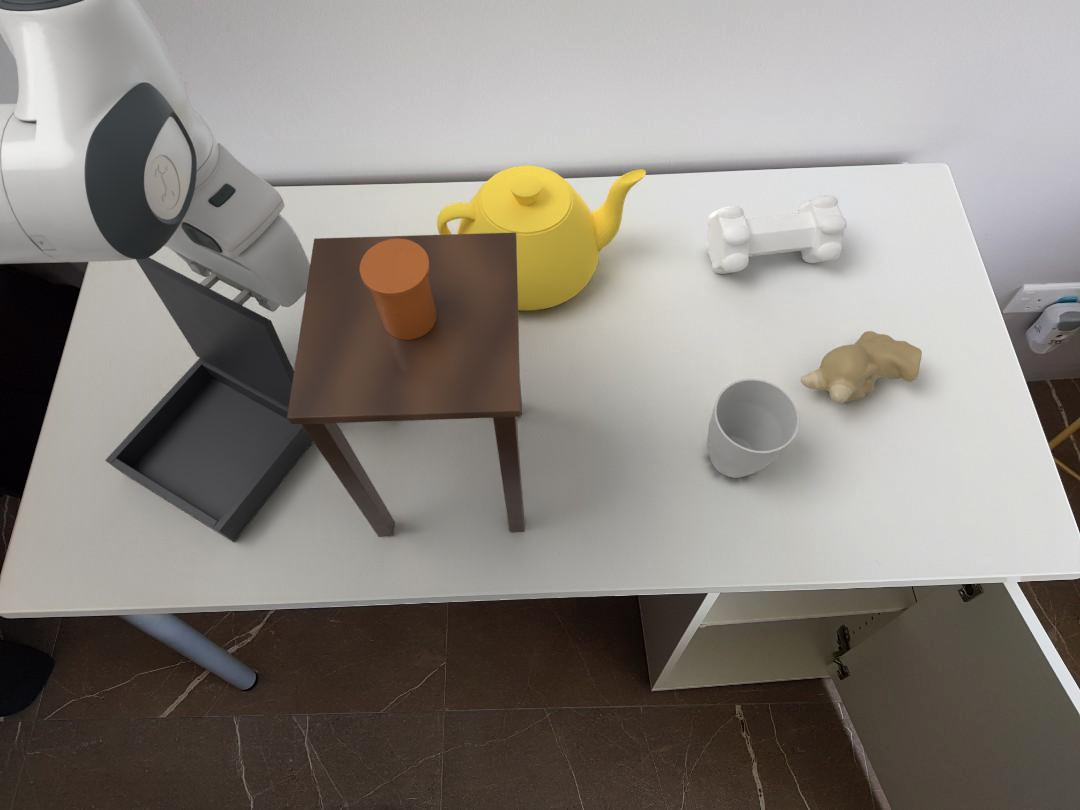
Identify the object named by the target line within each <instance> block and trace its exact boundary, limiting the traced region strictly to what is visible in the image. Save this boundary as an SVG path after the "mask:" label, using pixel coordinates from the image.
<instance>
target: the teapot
mask: <svg viewBox="0 0 1080 810" xmlns="http://www.w3.org/2000/svg"><path fill="white" fill-rule="evenodd" d="M646 175H647V171H646V170H645V169H641V168H640V169H634V170H630V171H629V172H626V173H624V174H623V175H621V176H619V177H618V178H617V179H616V180H615V181H614V182H613V183H612V185H611V187H610V188H609V190H608V192H607V195H606V198H605V201H604V202H603V204H602V205H601V206H600V207H598V208H596V209H595V210H593V211H591V210H590V208H589V206H588V205H587V203H586V201H585V200H584V199H583V197H582V196H581V195H580V193H578V191H577V190H576V189H575V188H574V187H573V186H572V185H571V184H570V182H568V181H567V180H566V179H564V177H562V176H561V175H559V173H557V172H555V171H553V170H551V169H549V168H545V167H542V166H535V165H518V166H512V167H508V168H505V169H503V170H501V171H499V172H497V173H495V174H494V175H493V176H492V177H490V178H489V179H487V180H486V181H485V182H484V183H483V184H482V186H481V187H479V189H478V190H477V191H476V192H475V194H474V195H473V197H472V198H471V199H470V200H469V202H464V201H463V202H462V201H461V202H454V203H450V204H448V205H446V206H444V207H443V208H442V209H441V210H440V211H439V213H438V214H437V219H436V226H437V227H436V228H437V232H438V235H446V234H452V231H451V230H450V228H449V226H448V224H447V223H449V222H451V221H454V220H458V219H459V220H460V221H459V225H458V229H457V234H479V233H512V232H515V233H516V238H517V278H518V311H538V310H544V309H549V308H552V307H556V306H558V305H561V304H564V303H565V302H568V301H569V300H571V299H572V298H574V297H575V296H577V295H578V294H579V293H581V292H582V291H583V289H585V287H586V286H587V285H588V284H589V282H590V281H591V280H592V278H593V276H594V274H595V273H596V270H597V268H598V264H599V259H600V251H602V250H603V249H604V248H605V247H606V246H608V244H610V243H611V242H612V241H613V240H614V238H616V236H617V234H618V232H619V230H620V228H621V224H622V219H623V213H624V212H623V211H624V204H625V200H626V198H627V195H628V193H629V192H630V190H631V189H632V187H634V186H635V185H636V184H638V183H639V182H640V181H641V180H643V178H644V177H645V176H646Z"/></svg>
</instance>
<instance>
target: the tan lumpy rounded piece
mask: <svg viewBox="0 0 1080 810" xmlns="http://www.w3.org/2000/svg"><path fill="white" fill-rule="evenodd" d="M922 353H923V352H922V349H921V348H919V347H917V346H915V345H912V344H911V343H909V342H907V341H905V340H896V339H894V338H892V337H891V336H890V335H888V334H881V333H877V332H875V331H874V330H873V331H872V330H867V331H864V332H863V333H862V334H861V336H860V337H859V338H858V339H857V341H855V343H853V344H845V345H841V346H838V347H836V348H833V349H831V350H830V351H829V352H827V353H826V354H825V355H824V356H823V358H822V360H821V362H820V366H819V367H818V369H816V370H814V371H809V372H808V373H807V374H805V375H803V376H801V377H800V383H801V384H802V385H803V386H804V387H806V388H807V389H809V390H816V391H817V390H819V391H820V390H821V391H825V392H828V393H829V396H830V399H831V400H832V401H834V402H835V403H839V404H840V403H843V404H847V403H849V402H852V401H854V400H855V401H858V400H861V399H862V398H864V397H865V396H867V395H869V394H871V393H873V392H874V391H875V383H876V382H877V380H878V379H880V378H885V379H889V380H898V379H902V380H904V382H905V383H911V382H914V381H915V380H916V379H917V378H918V375H919V372H920V366H921V361H922V356H923V354H922Z"/></svg>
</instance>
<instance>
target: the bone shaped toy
mask: <svg viewBox="0 0 1080 810" xmlns="http://www.w3.org/2000/svg"><path fill="white" fill-rule="evenodd" d="M838 203H839V200H838V198H837V197H836V196H834V195H830V194H828V195H827V194H824V195H818V196H817V197H814V198H813V199H808V200H805V201H803V202H802V203H801V204H800V205H799V206H798V209H797V213H790V214H780V215H773V216H763V217H755V218H754V217H753V218H746V217H745V212H744V209H743V207H740V206H739V205H727V206H723V207H721V208H719V209H717V210H715V211H713V212H711V213H710V214H709V215H708V217H707V219H706V220H707V221H706V222H707V241H706V243H705V249H706V251H707V252H708V255H709V259H710V261H711V264H712V266H711V269H712V272H714V273H716V274H720V275H721V274H724V275H725V274H731V273H737V272H741V271H743V270H745V268H747V266H748V264H749V261H750V260H749V259H750V258H749V257H757V256H767V255H775V254H785V253H792V252H800V254H801V258H802V260H803V261H804V262H805V263H808V264H817V263H822V262H830V261H834V260H836V259H838V258H839V257H840V256H841V255H842V252H843V240H844V233H845V230H846V228H847V226H848V222H847V220H846V218H845V217H844V215H843V214H842V211H841V209H840V207H839V204H838Z"/></svg>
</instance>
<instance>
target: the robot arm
mask: <svg viewBox="0 0 1080 810" xmlns="http://www.w3.org/2000/svg"><path fill="white" fill-rule="evenodd" d="M0 35H1V37H2V39H3V41H4V42H5V44H6V47H7V48H8V50H9V51H10V53H11V55H12V57H13V59H14V60H15V64H16V71H17V78H18V79H17V81H18V93H17V94H18V95H17V100H16V103H0V265H9V264H13V265H15V264H47V263H48V264H49V263H98V262H101V263H103V262H124V261H133V260H136V259H145V258H148V257H149V258H151V257H152V256H154V255H156V253H158V252H159V251H160V250H161V249H163V247H166V248H168V249H169V250H171V251H172V252H173V253H175V254H176V255H177V256H178V257H179V258H180V259H182V261H184V262H185V263H186V264H187V266H188V267H189V268H190V270H191V271H192V272H194V273H195V274H197V275H199V276H201V277H204V278H206V277H208V276H209V275H210V274H211V270H213V271H215V272H217V273H219V274H221V275H223V276H225V277H227V278H229V279H231V280H233V281H234V282H236V283H238V284H240V285H242V286H244V287H246V288H248V289H250V290H252V291H254V292H256V293H257V294H256V295H255V296H254V297H255V298H254V297H253V298H254V299H255V300H256V301H257V303H258V305H259V306H260V307H261V308H264V309H266V310H267V311H270V312H271V313H273V312H276V311H277V310H278V308H280V306H282V307H283V308H290V307H292V306H294V304H296V303H297V302H298V301H299V300H300V299H301V298H302V297H303V296H304V295H305V294H306V289H307V283H308V276H309V270H310V263H311V262H310V260H309V257H308V256H307V253H306V251H305V249H304V247H303V245H302V243H301V240H300V238H299V236H298V234H297V233H296V231H295V229H294V228H293V227H292V225H291V224H290V222H289V221H288V220H287V219H286V218H285V217H284V216H283V215H282V214H281V212H282V211H283V210H284V209H285V207H286V204H285V201H284V199H283V196H282V195H281V193H280V192H279V191H278V190H277V188H276V187H274V186H273V185H271V184H270V183H268V181H266V180H264V179H263V178H261V176H259V175H257V174H256V173H255V172H253V171H252V170H251V169H249V168H248V167H246V166H245V165H244V164H243V163H242V162H241V161H240V160H238V159H237V158H236V157H235V156H234V154H232V153H231V152H230V151H229V149H228V148H226V147H225V146H224V145H223V144H222V143H220V142H217V139H216V138H215V136H214V134H213V132H212V130H211V128H210V127H209V125H208V123H207V122H206V120H205V119H204V118H203V117H202V115H201V114H199V112H197V110H195V108H194V107H193V105H192V103H191V100H190V93H189V89H188V85H187V82H186V80H185V78H184V76H183V74H182V72H181V69H180V68H179V66H178V65H177V62H176V61H175V59H174V57H173V55H172V53H171V52H170V49H169V48H168V46H167V44H166V42H165V41H164V39H163V37H162V36H161V34H160V32H159V31H158V29H157V28H156V26H155V24H154V22H153V21H152V20H151V18H150V17H149V15H148V14H147V12H146V10H145V9H144V8H143V6H142V5H141V3H140V2H139V1H138V0H0Z"/></svg>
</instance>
